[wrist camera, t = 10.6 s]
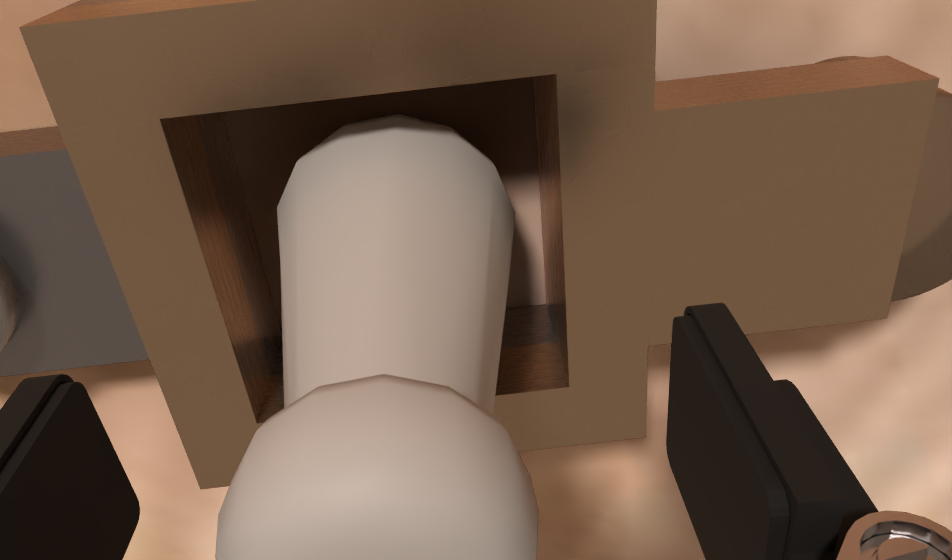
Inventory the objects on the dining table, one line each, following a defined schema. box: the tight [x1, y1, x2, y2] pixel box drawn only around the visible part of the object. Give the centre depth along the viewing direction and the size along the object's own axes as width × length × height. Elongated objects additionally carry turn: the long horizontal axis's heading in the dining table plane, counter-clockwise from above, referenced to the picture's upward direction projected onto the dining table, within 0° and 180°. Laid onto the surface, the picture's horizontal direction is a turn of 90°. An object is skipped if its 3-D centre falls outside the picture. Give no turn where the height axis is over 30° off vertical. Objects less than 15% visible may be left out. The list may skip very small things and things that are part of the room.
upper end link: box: [19, 0, 952, 489], centre depth 19 cm, size 20×12×4 cm, turn 96°
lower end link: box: [0, 0, 557, 377], centre depth 19 cm, size 20×12×3 cm, turn 96°
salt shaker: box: [215, 114, 539, 560], centre depth 15 cm, size 6×6×13 cm
